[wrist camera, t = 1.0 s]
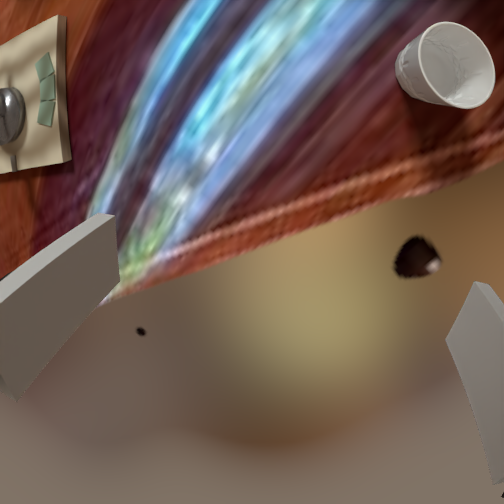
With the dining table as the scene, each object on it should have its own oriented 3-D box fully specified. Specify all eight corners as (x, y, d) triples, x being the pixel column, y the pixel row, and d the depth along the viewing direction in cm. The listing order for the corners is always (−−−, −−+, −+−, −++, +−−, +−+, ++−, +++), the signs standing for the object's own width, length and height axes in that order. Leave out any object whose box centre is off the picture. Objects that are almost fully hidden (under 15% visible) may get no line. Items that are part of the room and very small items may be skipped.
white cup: (419, 119, 30) (456, 125, 21) (375, 63, 28) (399, 48, 19) (463, 84, 27) (508, 82, 18) (421, 29, 25) (457, 8, 16)
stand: (-18, 62, 33) (-39, 65, 28) (66, 16, 29) (42, 12, 25) (-11, 175, 42) (-31, 183, 38) (71, 160, 39) (47, 169, 34)
